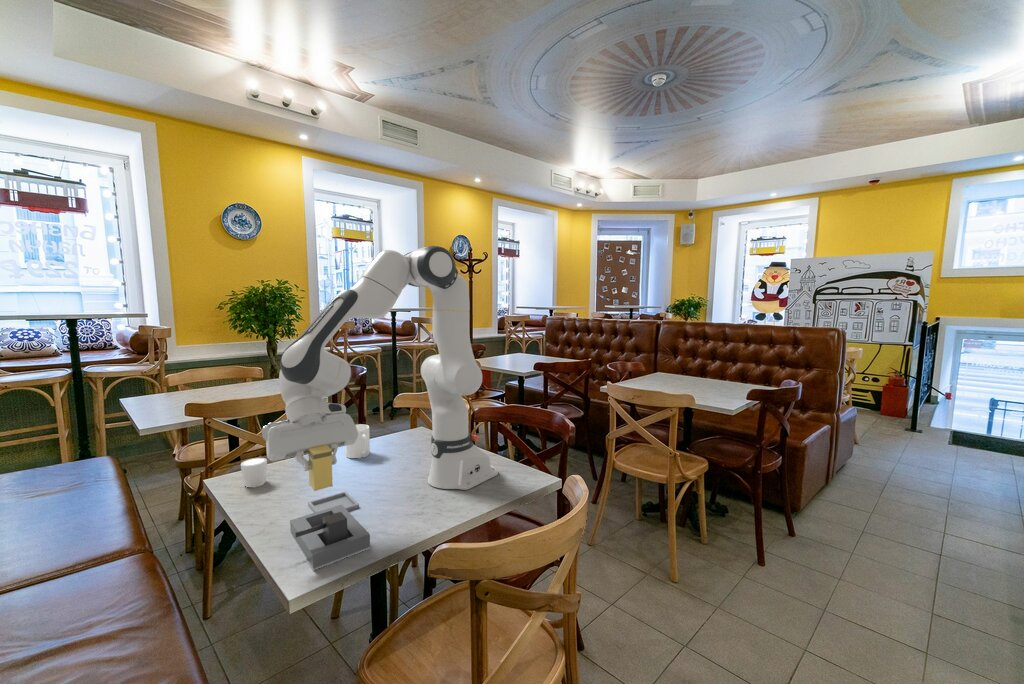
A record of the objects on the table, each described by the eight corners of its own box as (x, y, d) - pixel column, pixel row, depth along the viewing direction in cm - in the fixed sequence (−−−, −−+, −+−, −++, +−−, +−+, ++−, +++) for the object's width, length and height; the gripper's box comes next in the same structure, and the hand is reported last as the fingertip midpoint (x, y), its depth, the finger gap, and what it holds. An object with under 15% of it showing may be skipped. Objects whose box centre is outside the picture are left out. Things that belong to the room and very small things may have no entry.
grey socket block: (341, 517, 107) (341, 489, 107) (370, 548, 94) (369, 516, 93) (281, 537, 98) (279, 506, 98) (302, 575, 85) (301, 539, 84)
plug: (327, 480, 102) (326, 444, 101) (332, 486, 99) (331, 449, 98) (309, 485, 99) (307, 448, 98) (314, 491, 96) (313, 453, 95)
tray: (345, 496, 119) (345, 491, 119) (359, 509, 112) (358, 504, 112) (308, 507, 113) (307, 502, 113) (319, 521, 105) (319, 516, 105)
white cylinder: (255, 489, 123) (254, 466, 122) (236, 487, 124) (234, 464, 124) (273, 480, 130) (272, 458, 129) (254, 478, 131) (253, 456, 130)
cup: (363, 449, 157) (363, 422, 156) (378, 457, 149) (378, 430, 148) (341, 454, 152) (340, 427, 151) (356, 464, 143) (355, 435, 142)
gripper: (261, 417, 96) (273, 471, 89) (351, 403, 109) (366, 450, 103) (258, 431, 100) (269, 484, 93) (345, 417, 113) (360, 462, 107)
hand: (321, 466), depth 98 cm, fingers closed on plug, 4 cm apart
